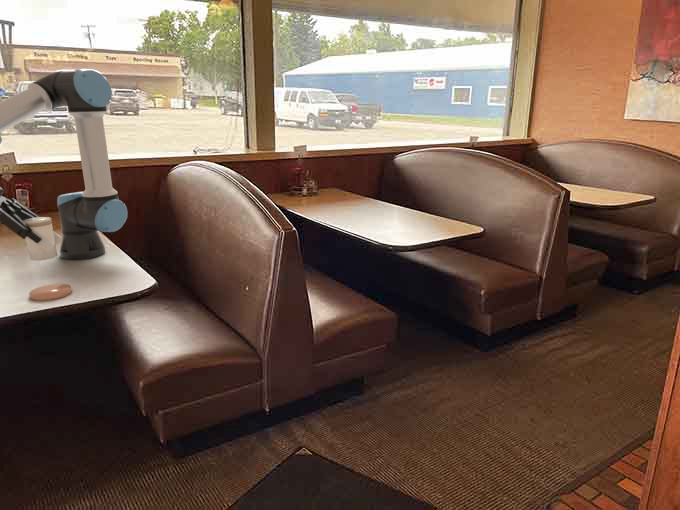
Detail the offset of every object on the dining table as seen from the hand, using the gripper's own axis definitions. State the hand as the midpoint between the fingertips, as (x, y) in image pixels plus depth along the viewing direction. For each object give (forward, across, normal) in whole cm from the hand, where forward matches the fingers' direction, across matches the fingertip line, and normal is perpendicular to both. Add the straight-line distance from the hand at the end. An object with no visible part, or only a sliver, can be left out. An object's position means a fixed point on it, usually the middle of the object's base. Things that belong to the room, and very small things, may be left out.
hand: (55, 244), depth 150 cm
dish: (+8, 0, -13) cm, 15 cm away
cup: (0, 0, -5) cm, 5 cm away
